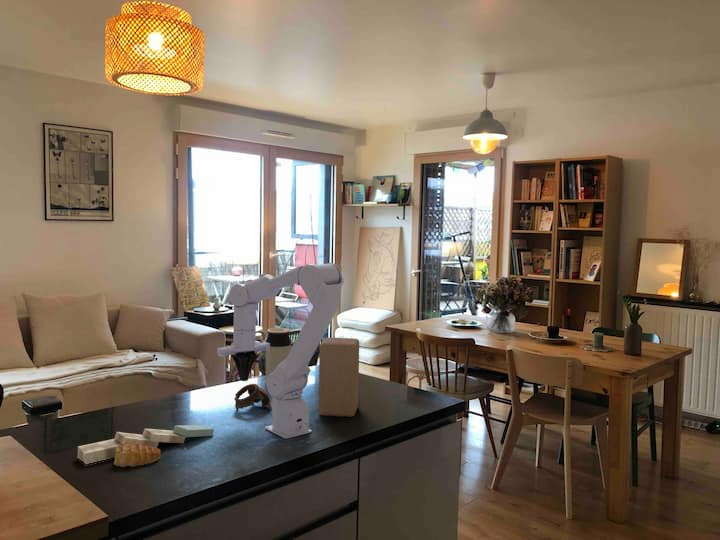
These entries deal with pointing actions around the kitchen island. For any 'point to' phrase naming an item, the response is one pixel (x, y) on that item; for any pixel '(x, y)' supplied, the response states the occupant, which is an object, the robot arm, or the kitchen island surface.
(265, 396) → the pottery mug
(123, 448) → the pastry
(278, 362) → the travel mug
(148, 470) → the kitchen island surface
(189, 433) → the domino
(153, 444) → the domino
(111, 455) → the domino
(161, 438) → the domino
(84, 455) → the domino
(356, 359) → the wooden block
